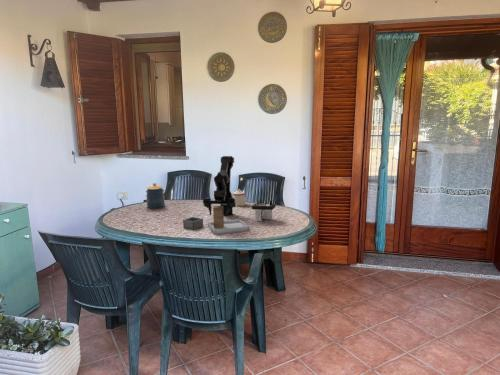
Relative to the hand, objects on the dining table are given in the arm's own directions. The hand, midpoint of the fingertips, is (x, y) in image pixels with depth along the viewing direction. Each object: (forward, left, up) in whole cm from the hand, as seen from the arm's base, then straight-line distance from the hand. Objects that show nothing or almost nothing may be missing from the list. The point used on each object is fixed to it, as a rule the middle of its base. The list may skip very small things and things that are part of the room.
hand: (218, 215), depth 220 cm
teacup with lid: (-30, -56, -9) cm, 64 cm away
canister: (+27, -74, -9) cm, 80 cm away
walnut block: (-1, -1, -8) cm, 8 cm away
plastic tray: (-6, +1, -9) cm, 10 cm away
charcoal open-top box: (+12, -11, -9) cm, 19 cm away
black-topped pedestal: (-32, -9, -9) cm, 34 cm away
